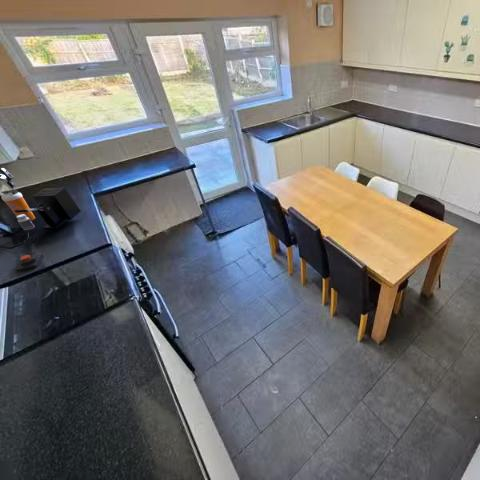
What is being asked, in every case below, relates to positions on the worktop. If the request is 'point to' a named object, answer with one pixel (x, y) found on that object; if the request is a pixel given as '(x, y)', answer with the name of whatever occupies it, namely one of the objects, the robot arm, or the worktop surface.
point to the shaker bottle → (17, 203)
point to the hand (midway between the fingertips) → (5, 190)
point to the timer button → (25, 258)
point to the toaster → (58, 202)
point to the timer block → (30, 262)
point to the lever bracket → (50, 217)
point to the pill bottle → (25, 222)
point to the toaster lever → (29, 210)
